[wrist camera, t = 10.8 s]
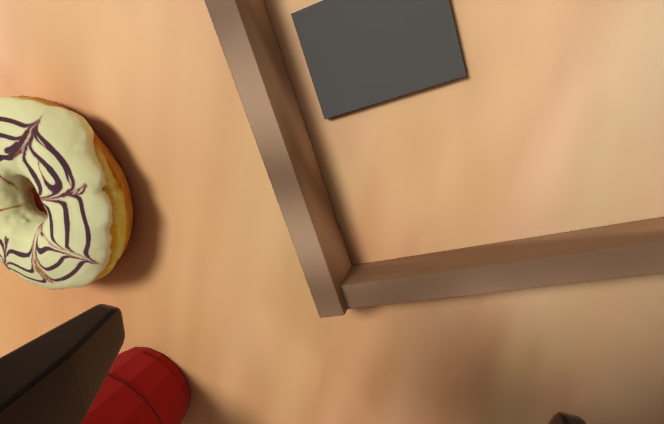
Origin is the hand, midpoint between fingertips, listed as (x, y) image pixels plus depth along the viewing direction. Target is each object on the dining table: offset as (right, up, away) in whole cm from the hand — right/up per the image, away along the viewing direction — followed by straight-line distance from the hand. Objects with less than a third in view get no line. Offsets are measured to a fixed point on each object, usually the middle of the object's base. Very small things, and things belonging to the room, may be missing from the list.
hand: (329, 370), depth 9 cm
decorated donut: (-15, +5, +17) cm, 23 cm away
